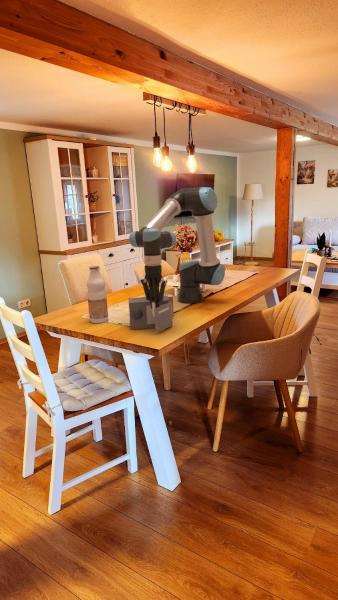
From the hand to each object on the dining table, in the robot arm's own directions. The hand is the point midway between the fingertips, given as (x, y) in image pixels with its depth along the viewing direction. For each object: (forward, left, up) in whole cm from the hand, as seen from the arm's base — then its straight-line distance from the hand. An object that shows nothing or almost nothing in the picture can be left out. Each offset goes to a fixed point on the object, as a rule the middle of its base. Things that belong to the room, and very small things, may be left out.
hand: (155, 315), depth 182 cm
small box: (-7, -24, -8) cm, 26 cm away
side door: (-4, 0, -7) cm, 8 cm away
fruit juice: (+27, -23, -8) cm, 36 cm away
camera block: (+2, -10, -7) cm, 12 cm away
